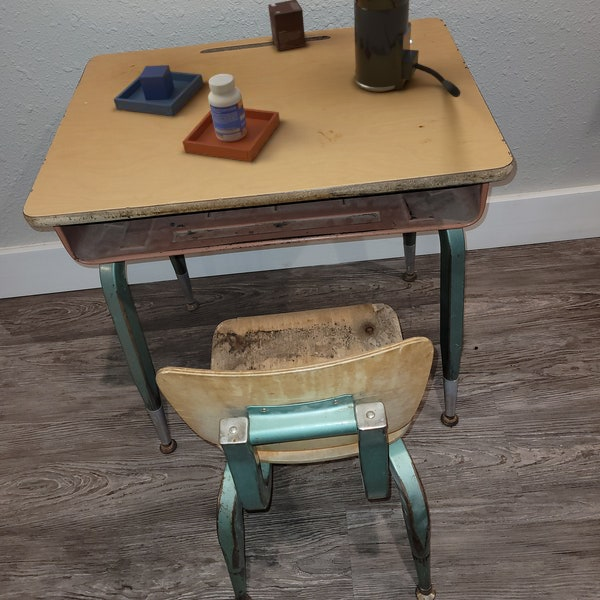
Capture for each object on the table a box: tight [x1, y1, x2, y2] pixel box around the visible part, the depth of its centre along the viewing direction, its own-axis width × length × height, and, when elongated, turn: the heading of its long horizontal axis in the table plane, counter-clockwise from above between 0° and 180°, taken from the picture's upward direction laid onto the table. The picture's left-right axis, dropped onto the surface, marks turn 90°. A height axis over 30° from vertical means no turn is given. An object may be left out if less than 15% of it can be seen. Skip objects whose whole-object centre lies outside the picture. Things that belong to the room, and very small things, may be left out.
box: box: [267, 0, 306, 51], centre depth 122 cm, size 6×6×7 cm
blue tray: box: [112, 70, 204, 117], centre depth 112 cm, size 12×12×2 cm
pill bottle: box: [207, 73, 247, 142], centre depth 97 cm, size 5×5×10 cm
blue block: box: [138, 64, 174, 100], centre depth 111 cm, size 4×4×4 cm
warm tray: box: [182, 107, 281, 163], centre depth 100 cm, size 12×12×2 cm
